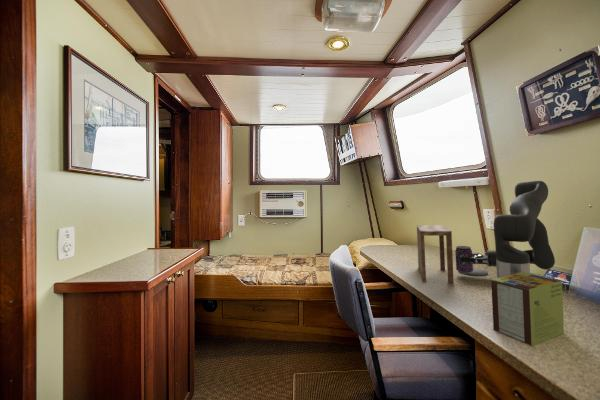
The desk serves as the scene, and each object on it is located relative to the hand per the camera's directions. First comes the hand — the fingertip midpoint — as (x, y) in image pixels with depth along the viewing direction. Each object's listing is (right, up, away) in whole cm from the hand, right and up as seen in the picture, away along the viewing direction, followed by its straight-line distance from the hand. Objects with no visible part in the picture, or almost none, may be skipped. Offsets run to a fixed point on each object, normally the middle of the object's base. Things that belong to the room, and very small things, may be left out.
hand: (459, 257), depth 136 cm
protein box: (-11, -10, -55) cm, 57 cm away
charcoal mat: (+10, -9, +6) cm, 15 cm away
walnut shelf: (-10, -10, +4) cm, 15 cm away
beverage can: (+3, -7, -1) cm, 7 cm away
